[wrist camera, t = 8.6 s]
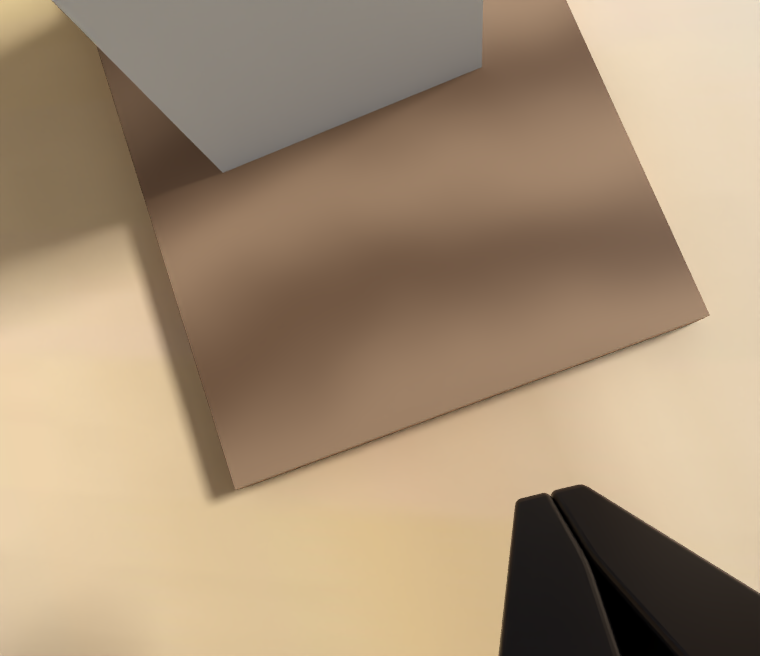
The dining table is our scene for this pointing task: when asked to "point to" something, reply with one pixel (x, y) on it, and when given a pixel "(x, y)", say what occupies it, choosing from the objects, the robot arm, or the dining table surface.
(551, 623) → the robot arm
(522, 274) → the podium board
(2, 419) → the dining table surface
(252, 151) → the carton
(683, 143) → the dining table surface
